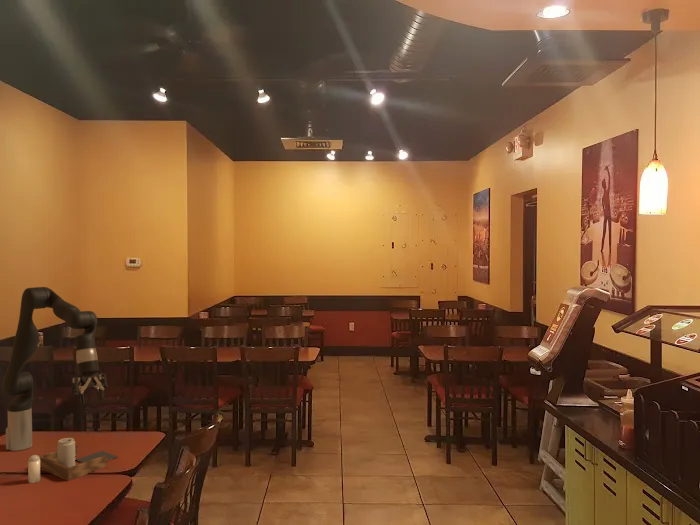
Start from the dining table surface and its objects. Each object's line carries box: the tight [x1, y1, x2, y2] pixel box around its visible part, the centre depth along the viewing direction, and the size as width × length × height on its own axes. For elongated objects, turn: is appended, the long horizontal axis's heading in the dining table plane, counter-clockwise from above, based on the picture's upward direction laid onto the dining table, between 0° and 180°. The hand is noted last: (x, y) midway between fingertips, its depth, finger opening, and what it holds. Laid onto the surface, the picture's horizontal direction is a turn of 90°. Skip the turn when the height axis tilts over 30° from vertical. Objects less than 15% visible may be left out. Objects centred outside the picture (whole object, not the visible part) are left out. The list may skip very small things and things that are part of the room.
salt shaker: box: [27, 454, 41, 484], centre depth 212 cm, size 4×4×10 cm
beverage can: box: [56, 437, 76, 467], centre depth 223 cm, size 6×6×12 cm
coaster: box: [75, 450, 119, 463], centre depth 234 cm, size 12×12×1 cm
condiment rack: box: [38, 444, 108, 481], centre depth 225 cm, size 16×22×4 cm
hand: (91, 402), depth 216 cm, fingers open, 8 cm apart
